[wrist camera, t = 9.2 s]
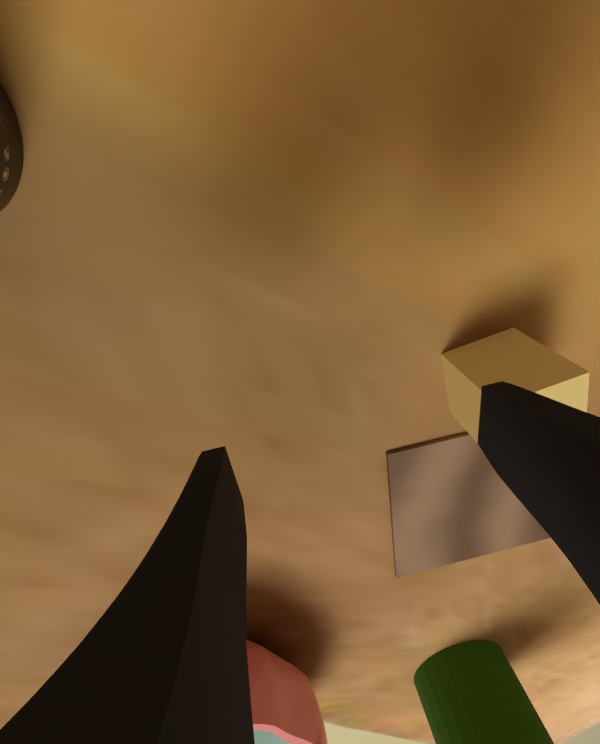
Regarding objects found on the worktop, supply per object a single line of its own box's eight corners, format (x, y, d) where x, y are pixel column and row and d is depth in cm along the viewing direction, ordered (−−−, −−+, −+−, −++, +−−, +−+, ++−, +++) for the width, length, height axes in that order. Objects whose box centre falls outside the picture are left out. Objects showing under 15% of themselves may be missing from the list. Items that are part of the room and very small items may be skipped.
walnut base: (564, 397, 25) (579, 408, 24) (538, 524, 31) (549, 537, 30) (380, 441, 24) (387, 454, 23) (390, 563, 30) (396, 577, 29)
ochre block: (501, 320, 22) (589, 372, 16) (505, 379, 24) (584, 442, 18) (432, 345, 22) (497, 405, 16) (442, 402, 24) (502, 472, 18)
